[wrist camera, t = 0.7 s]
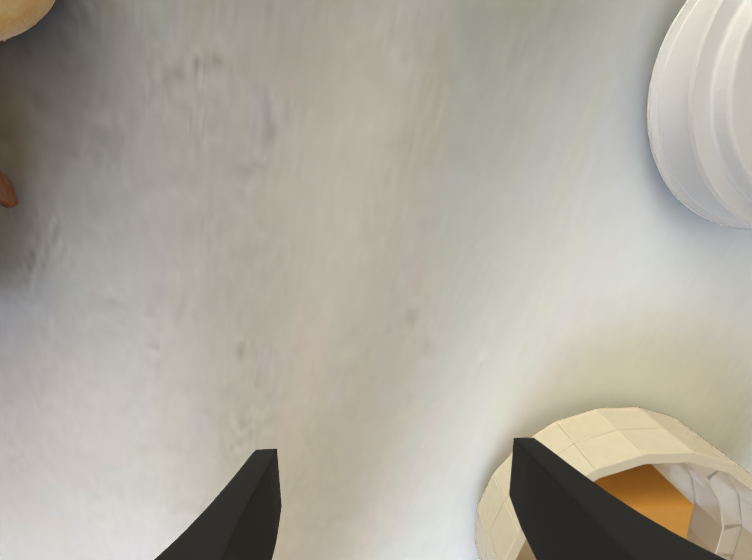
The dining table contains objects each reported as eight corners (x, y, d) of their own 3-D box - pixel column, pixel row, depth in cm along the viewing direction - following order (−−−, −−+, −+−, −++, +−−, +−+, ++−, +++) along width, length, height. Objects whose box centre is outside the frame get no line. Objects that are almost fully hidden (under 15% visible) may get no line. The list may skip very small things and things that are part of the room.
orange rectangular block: (622, 571, 26) (664, 632, 22) (555, 574, 26) (587, 637, 22) (644, 456, 24) (695, 505, 20) (571, 459, 23) (610, 509, 20)
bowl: (685, 597, 28) (748, 676, 23) (465, 610, 27) (487, 694, 22) (735, 397, 24) (821, 447, 19) (480, 405, 23) (510, 458, 19)
